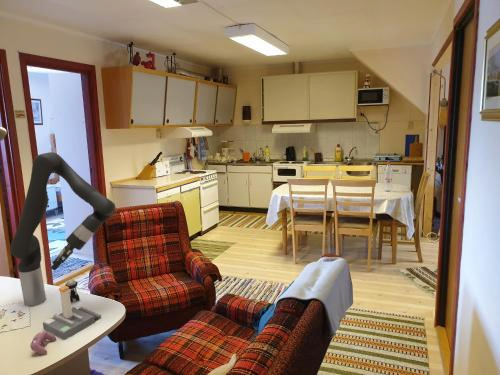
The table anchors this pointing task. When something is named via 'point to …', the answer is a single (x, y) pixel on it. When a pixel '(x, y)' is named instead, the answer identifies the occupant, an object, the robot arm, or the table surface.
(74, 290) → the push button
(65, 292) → the breaker lever
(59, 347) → the table surface
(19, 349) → the table surface
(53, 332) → the breaker panel
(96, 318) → the grey long flat bar
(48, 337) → the video game controller
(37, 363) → the table surface
